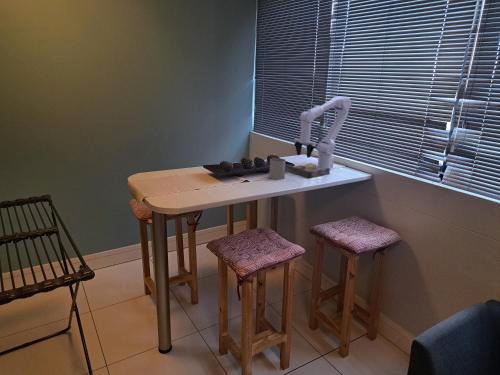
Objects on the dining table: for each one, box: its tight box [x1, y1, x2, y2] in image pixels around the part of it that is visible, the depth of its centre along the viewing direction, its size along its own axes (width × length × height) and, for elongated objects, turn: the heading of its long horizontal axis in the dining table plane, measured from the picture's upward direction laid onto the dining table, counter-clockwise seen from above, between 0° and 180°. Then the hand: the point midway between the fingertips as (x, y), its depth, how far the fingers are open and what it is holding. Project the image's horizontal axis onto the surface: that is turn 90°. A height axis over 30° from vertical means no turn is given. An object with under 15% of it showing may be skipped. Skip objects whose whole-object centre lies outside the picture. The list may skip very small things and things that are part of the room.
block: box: [299, 162, 317, 171], centre depth 197 cm, size 4×9×5 cm, turn 129°
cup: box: [268, 157, 286, 181], centre depth 188 cm, size 8×8×10 cm
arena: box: [285, 163, 331, 179], centre depth 201 cm, size 17×23×4 cm
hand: (303, 156), depth 202 cm, fingers open, 7 cm apart
